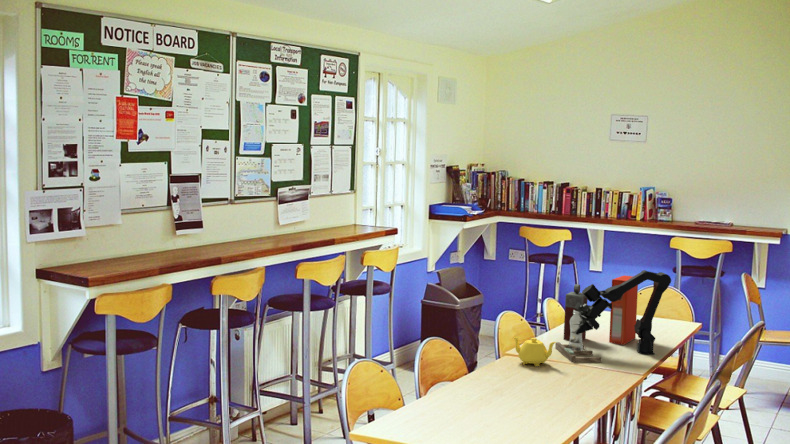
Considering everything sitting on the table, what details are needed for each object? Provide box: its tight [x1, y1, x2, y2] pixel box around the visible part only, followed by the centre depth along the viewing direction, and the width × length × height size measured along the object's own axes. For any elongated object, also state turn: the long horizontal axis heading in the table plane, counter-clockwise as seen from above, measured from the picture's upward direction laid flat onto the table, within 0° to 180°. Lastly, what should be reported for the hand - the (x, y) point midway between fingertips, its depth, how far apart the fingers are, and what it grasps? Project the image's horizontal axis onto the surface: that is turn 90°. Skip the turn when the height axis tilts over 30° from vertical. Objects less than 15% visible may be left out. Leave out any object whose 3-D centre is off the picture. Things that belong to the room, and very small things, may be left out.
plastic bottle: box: [568, 310, 584, 351], centre depth 368 cm, size 6×7×20 cm
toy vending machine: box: [563, 283, 589, 342], centre depth 393 cm, size 9×11×28 cm
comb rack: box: [554, 341, 602, 363], centre depth 362 cm, size 14×24×4 cm, turn 5°
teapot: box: [512, 335, 557, 367], centre depth 346 cm, size 20×15×12 cm
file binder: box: [608, 275, 639, 346], centre depth 393 cm, size 8×17×32 cm, turn 146°
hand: (573, 332), depth 367 cm, fingers closed on plastic bottle, 6 cm apart
